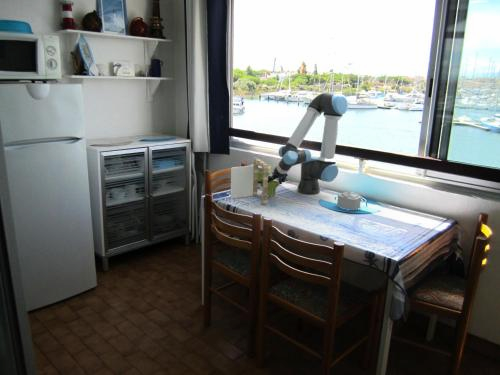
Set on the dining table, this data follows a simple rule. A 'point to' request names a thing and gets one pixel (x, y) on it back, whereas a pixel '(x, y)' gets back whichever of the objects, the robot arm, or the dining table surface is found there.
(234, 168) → the door leaf
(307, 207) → the dining table surface
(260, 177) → the tea box
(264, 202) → the door frame
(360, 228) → the dining table surface
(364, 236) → the dining table surface
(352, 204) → the lumpy-topped squat cylinder
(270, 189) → the plant pot
